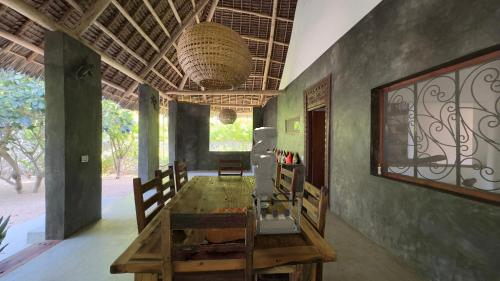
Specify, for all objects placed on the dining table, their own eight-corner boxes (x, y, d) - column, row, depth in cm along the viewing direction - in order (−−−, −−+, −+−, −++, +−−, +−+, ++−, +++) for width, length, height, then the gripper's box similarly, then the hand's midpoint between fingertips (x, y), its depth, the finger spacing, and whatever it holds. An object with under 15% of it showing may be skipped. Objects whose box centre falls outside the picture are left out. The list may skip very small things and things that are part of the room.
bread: (258, 238, 121) (259, 209, 121) (209, 245, 112) (209, 214, 112) (250, 227, 134) (250, 202, 134) (204, 233, 125) (205, 206, 125)
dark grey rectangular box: (272, 216, 136) (272, 209, 137) (277, 216, 136) (277, 209, 138) (273, 216, 135) (273, 209, 136) (278, 216, 135) (277, 209, 136)
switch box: (257, 224, 139) (257, 214, 139) (289, 223, 142) (289, 213, 142) (260, 231, 130) (260, 220, 129) (294, 230, 132) (294, 219, 132)
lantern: (172, 246, 128) (195, 247, 106) (169, 215, 132) (190, 210, 111) (185, 242, 133) (210, 242, 111) (181, 212, 137) (204, 207, 115)
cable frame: (252, 222, 143) (253, 191, 142) (290, 221, 146) (291, 191, 145) (257, 234, 126) (257, 199, 125) (300, 232, 129) (301, 199, 128)
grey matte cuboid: (284, 216, 137) (283, 209, 138) (288, 216, 137) (288, 209, 138) (285, 216, 135) (284, 209, 137) (289, 216, 136) (289, 209, 137)
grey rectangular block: (261, 216, 135) (261, 209, 136) (266, 216, 136) (265, 209, 137) (261, 217, 134) (261, 209, 135) (266, 216, 134) (266, 209, 135)
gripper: (277, 175, 139) (276, 203, 139) (249, 175, 137) (248, 203, 137) (280, 177, 131) (280, 207, 132) (251, 177, 129) (250, 207, 130)
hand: (264, 205), depth 135 cm, fingers open, 9 cm apart
